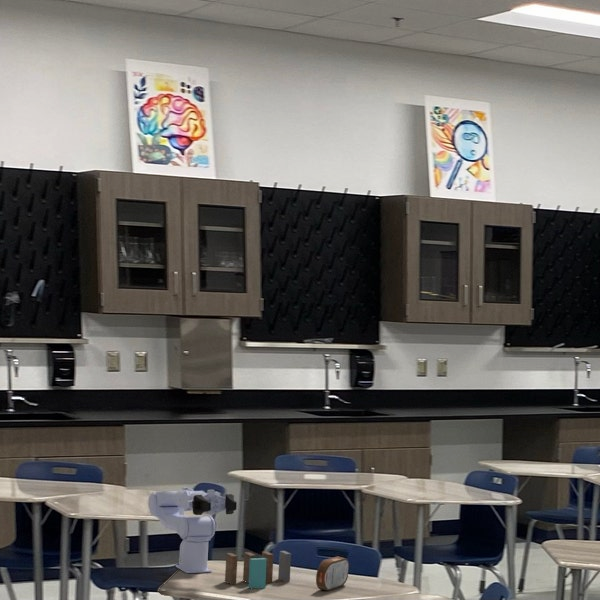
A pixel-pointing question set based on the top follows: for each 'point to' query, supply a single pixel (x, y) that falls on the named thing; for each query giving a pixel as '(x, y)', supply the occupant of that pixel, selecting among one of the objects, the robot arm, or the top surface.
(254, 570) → the teal rectangular block
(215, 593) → the top surface
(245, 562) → the domino
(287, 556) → the domino
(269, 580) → the domino
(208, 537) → the robot arm
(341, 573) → the tin
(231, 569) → the domino
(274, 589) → the top surface
